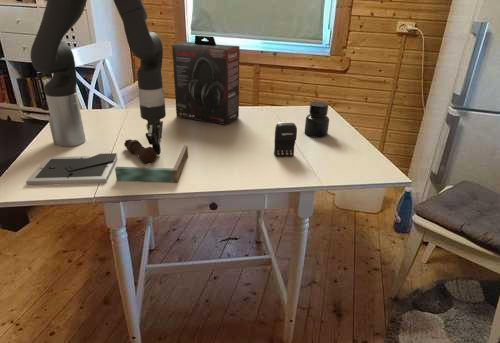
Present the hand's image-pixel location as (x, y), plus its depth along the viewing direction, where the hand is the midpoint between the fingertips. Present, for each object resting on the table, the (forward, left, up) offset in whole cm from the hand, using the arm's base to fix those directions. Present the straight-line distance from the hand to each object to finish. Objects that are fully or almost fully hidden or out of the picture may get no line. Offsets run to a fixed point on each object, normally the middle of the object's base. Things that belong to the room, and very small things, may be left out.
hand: (157, 154), depth 118 cm
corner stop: (+1, -9, -1) cm, 9 cm away
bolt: (-6, 0, -1) cm, 6 cm away
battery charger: (+42, +3, -1) cm, 42 cm away
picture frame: (-21, -13, -2) cm, 25 cm away
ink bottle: (+56, +25, -1) cm, 61 cm away
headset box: (+12, +41, -1) cm, 43 cm away
